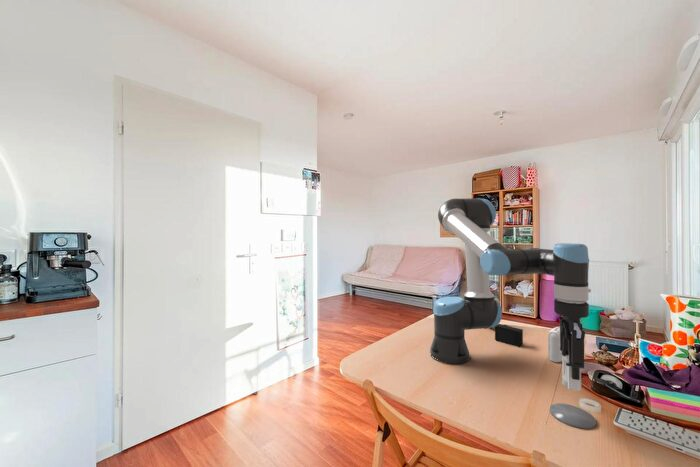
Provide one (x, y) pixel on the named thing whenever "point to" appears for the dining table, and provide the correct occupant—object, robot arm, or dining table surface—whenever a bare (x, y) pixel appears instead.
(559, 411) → the grey disc
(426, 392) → the dining table surface
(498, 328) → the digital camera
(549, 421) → the dining table surface
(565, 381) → the rook chess piece
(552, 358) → the white rounded block
